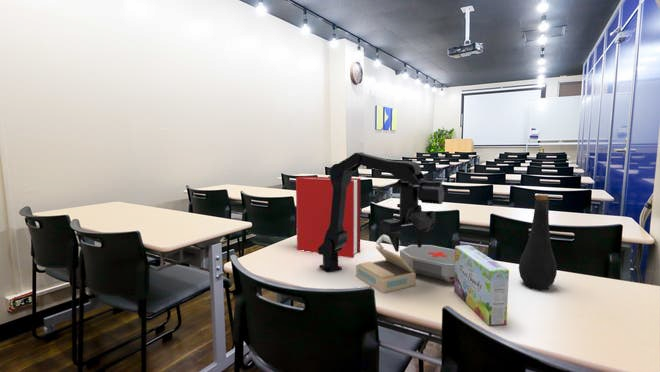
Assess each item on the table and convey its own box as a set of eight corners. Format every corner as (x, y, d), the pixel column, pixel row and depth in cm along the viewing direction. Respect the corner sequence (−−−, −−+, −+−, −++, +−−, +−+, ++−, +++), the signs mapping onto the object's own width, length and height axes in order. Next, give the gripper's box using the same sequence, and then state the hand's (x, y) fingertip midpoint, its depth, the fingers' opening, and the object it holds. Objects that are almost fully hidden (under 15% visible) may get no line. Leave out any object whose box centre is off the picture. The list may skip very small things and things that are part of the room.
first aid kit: (393, 273, 125) (463, 291, 109) (394, 253, 124) (464, 268, 108) (415, 260, 139) (480, 275, 123) (416, 242, 138) (481, 255, 122)
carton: (355, 276, 122) (355, 263, 122) (386, 269, 128) (386, 257, 128) (382, 293, 108) (383, 278, 108) (415, 285, 114) (415, 271, 114)
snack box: (452, 291, 110) (453, 245, 108) (469, 290, 110) (471, 244, 108) (487, 326, 89) (490, 269, 87) (508, 325, 89) (511, 269, 87)
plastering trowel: (369, 241, 122) (378, 231, 124) (386, 260, 127) (394, 250, 128) (394, 252, 110) (403, 240, 111) (412, 273, 114) (420, 261, 116)
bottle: (523, 276, 121) (529, 191, 117) (559, 285, 113) (566, 195, 110) (513, 285, 113) (518, 195, 110) (550, 295, 106) (557, 198, 102)
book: (360, 252, 149) (360, 178, 145) (353, 257, 142) (353, 180, 138) (304, 245, 160) (303, 176, 156) (295, 250, 153) (294, 177, 149)
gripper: (402, 208, 98) (401, 261, 100) (449, 202, 107) (448, 251, 109) (379, 202, 108) (378, 251, 110) (424, 197, 117) (423, 242, 119)
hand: (408, 249), depth 112 cm, fingers open, 9 cm apart
